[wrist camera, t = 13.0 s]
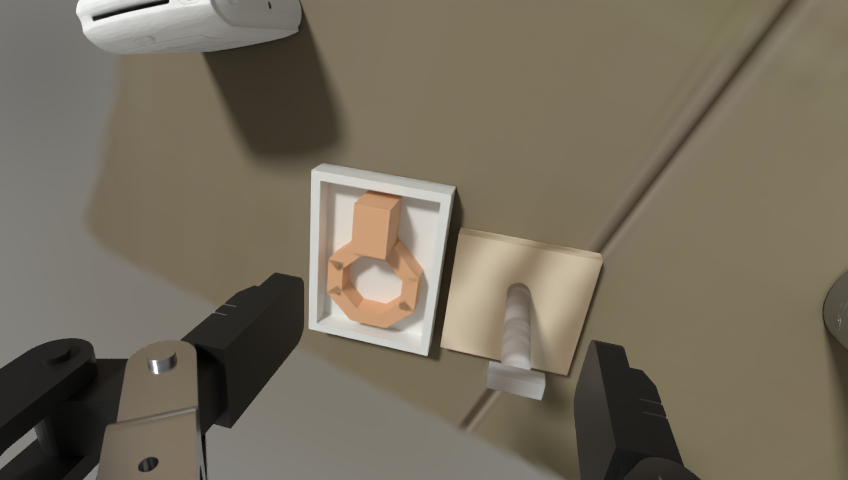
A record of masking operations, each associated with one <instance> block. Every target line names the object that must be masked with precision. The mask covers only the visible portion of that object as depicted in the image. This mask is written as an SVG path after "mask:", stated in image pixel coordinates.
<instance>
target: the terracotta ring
mask: <svg viewBox="0 0 848 480" xmlns="http://www.w3.org/2000/svg"><path fill="white" fill-rule="evenodd" d="M402 197H403V196H402V195H396V194H391V193H385V192H380V191H374V190H368V191H367V192H366V193H365V194H364V195H363V196H362V197H361V198H359V199H358V200H357V201H356V202H355V203H354V213H353V227H352V240H351V241H350V242H348V243H347V244H346V245H344V246H343V247H341V248H340V249H338V250H337V251H336V252H335V253H334V254H333V255H332V256H331V257H330V258H329V260H328V281H327V293H328V294H329V295H330V297H331V298H332V299H333V300H334V301H335V303H336V304H337V305H338V306H339V307H340V308H341V310H342V311H343V312H344V313H345V314H346V316H347V317H348V318H349V319H350V320H352V321H356V322H361V323H365V324H369V325H374V326H378V327H382V328H387V327H389V326H390V325H392V324H394V323H396V322H397V321H399V320H401V319H403V318H404V317H406V316H408V315H410V314H411V313H413V312H414V311H415V308H416V306H417V304H418V301H419V294H420V287H421V280H422V273H423V268H422V267H421V266H420V264H419V263H418V262H417V261H416V259H415V258H414V257H413V255H412V254H411V253H410V252H409V250H408V249H407V248H406V246H405V245H404V244H403V243H402V241H401V240H400V239H398V231H399V223H400V214H401V205H402ZM361 256H363V257H368V258H373V259H378V260H382V261H387V263H388V264H389V265H390V266H391V268H392V269H393V270H394V271H395V273H396V274H397V275H398V276H399V278H400V279H401V280H402V289H401V295H400V296H399V297H397V298H395V299H394V300H392V301H390V302H388V303H382V302H378V301H373V300H369V299H364V298H363V297H362V295H361V294H360V293H359V292H358V291H357V289H356V288H355V287H354V286H353V285H352V283H351V282H350V281H349V272H350V263H352V262H353V261H355V260H356V259H358V258H359V257H361Z"/></svg>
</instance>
